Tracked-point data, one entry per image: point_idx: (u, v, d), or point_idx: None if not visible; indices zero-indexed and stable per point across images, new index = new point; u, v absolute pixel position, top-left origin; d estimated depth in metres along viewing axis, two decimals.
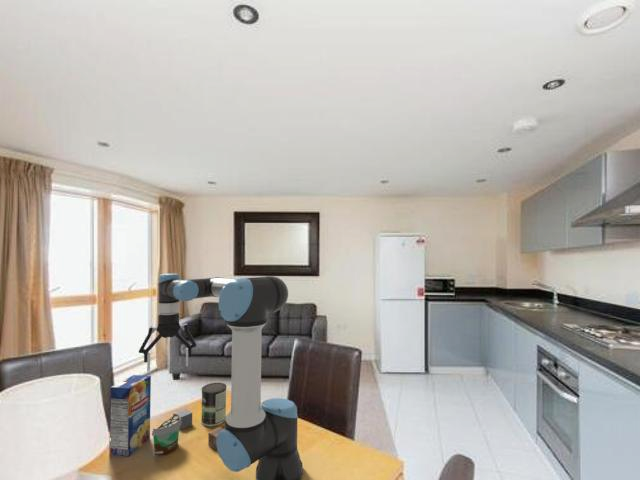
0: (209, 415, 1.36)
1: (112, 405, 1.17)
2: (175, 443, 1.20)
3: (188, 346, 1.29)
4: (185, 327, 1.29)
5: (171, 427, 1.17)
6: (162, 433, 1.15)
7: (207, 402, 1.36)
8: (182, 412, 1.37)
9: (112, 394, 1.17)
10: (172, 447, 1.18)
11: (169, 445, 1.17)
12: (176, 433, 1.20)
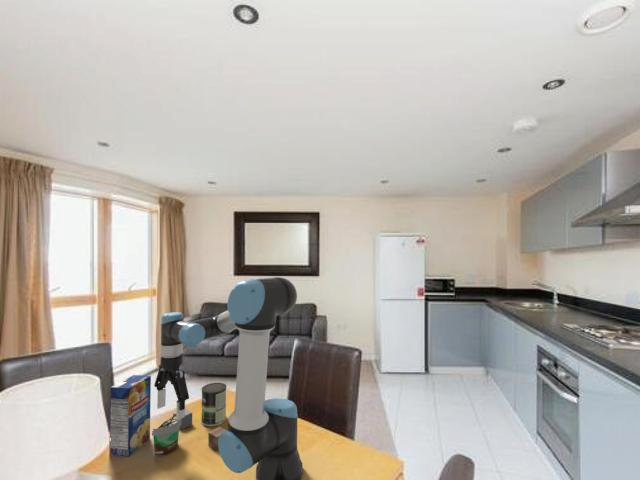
0: (209, 415, 1.36)
1: (112, 405, 1.17)
2: (175, 443, 1.20)
3: (178, 398, 1.16)
4: (177, 375, 1.16)
5: (171, 427, 1.17)
6: (162, 433, 1.15)
7: (207, 402, 1.36)
8: None
9: (112, 394, 1.17)
10: (172, 447, 1.18)
11: (169, 445, 1.17)
12: (176, 433, 1.20)
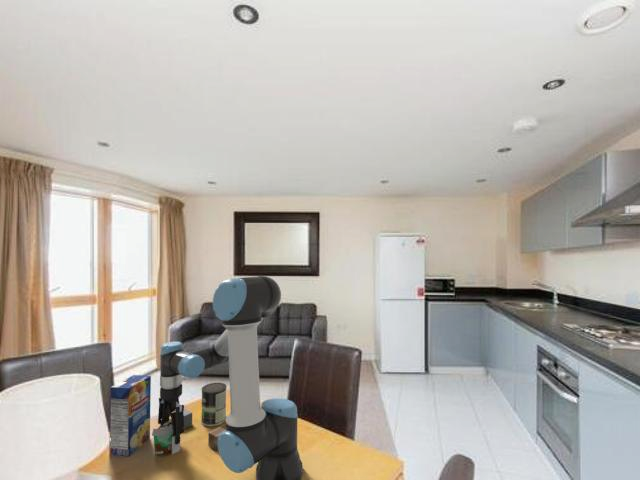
0: (209, 415, 1.36)
1: (112, 405, 1.17)
2: None
3: (174, 432, 1.17)
4: (176, 410, 1.16)
5: (171, 427, 1.17)
6: (162, 433, 1.15)
7: (207, 402, 1.36)
8: None
9: (112, 394, 1.17)
10: None
11: (169, 446, 1.17)
12: None
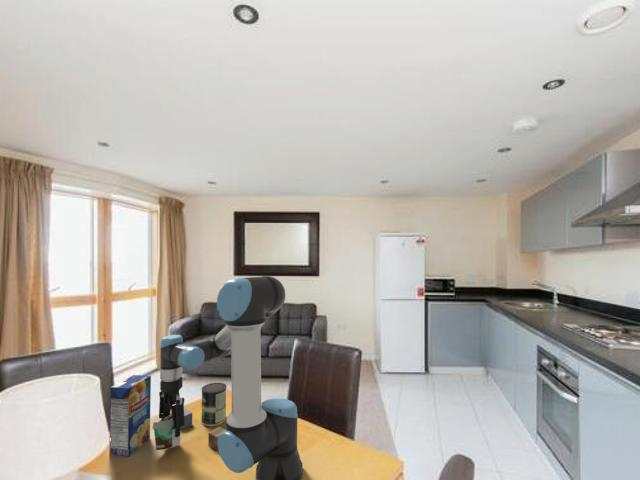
0: (209, 415, 1.36)
1: (112, 405, 1.17)
2: None
3: (174, 424, 1.17)
4: (176, 402, 1.16)
5: (171, 421, 1.17)
6: (162, 427, 1.15)
7: (207, 402, 1.36)
8: None
9: (112, 394, 1.17)
10: None
11: (170, 439, 1.17)
12: None
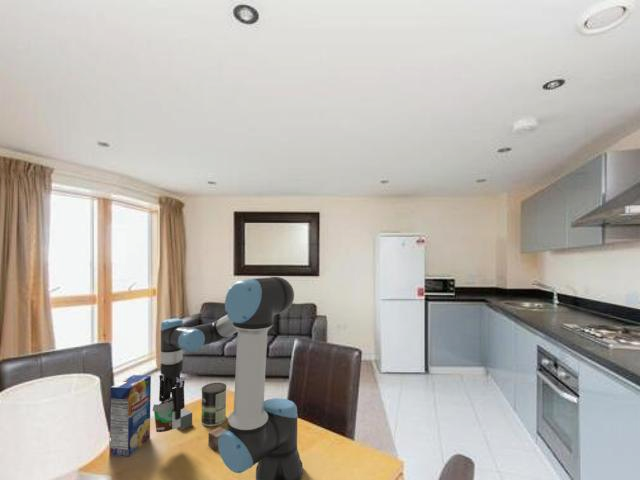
0: (209, 415, 1.36)
1: (112, 405, 1.17)
2: None
3: (174, 407, 1.17)
4: (176, 385, 1.16)
5: (171, 403, 1.17)
6: (162, 409, 1.15)
7: (207, 402, 1.36)
8: (182, 412, 1.37)
9: (112, 394, 1.17)
10: None
11: (170, 422, 1.17)
12: None
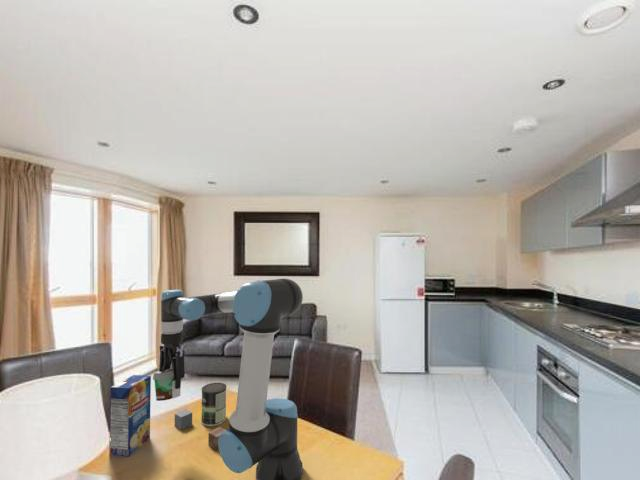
0: (209, 415, 1.36)
1: (112, 405, 1.17)
2: None
3: (174, 376, 1.18)
4: (177, 354, 1.17)
5: (172, 372, 1.18)
6: (162, 377, 1.16)
7: (207, 402, 1.36)
8: (182, 412, 1.37)
9: (112, 394, 1.17)
10: None
11: (170, 391, 1.18)
12: None
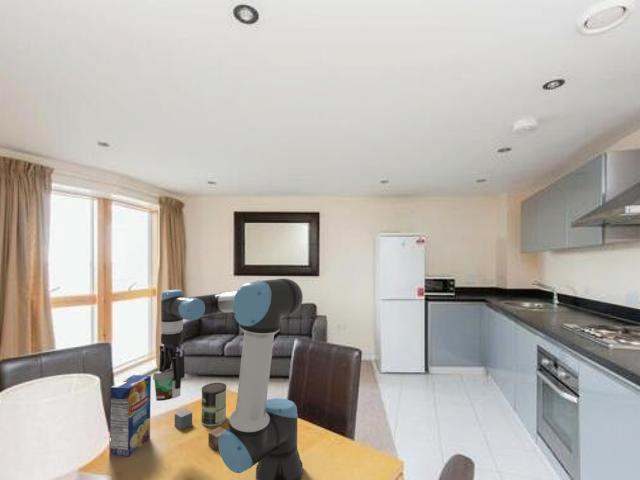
0: (209, 415, 1.36)
1: (112, 405, 1.17)
2: None
3: (174, 376, 1.18)
4: (177, 354, 1.17)
5: (172, 372, 1.18)
6: (162, 377, 1.16)
7: (207, 402, 1.36)
8: (182, 412, 1.37)
9: (112, 394, 1.17)
10: None
11: (170, 391, 1.18)
12: None
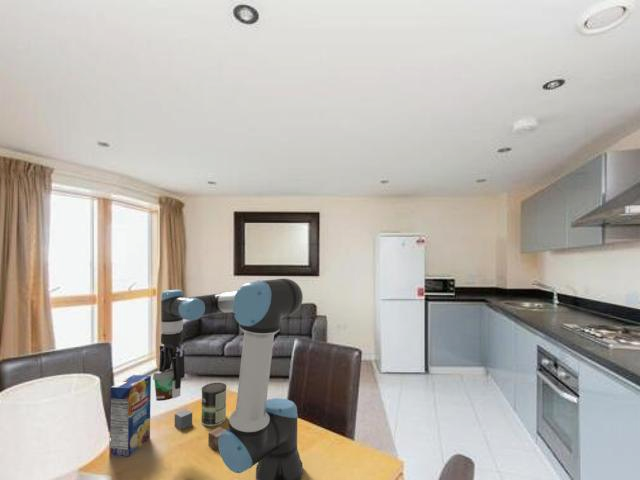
0: (209, 415, 1.36)
1: (112, 405, 1.17)
2: None
3: (174, 376, 1.18)
4: (177, 354, 1.17)
5: (172, 372, 1.18)
6: (162, 377, 1.16)
7: (207, 402, 1.36)
8: (182, 412, 1.37)
9: (112, 394, 1.17)
10: None
11: (170, 391, 1.18)
12: None
